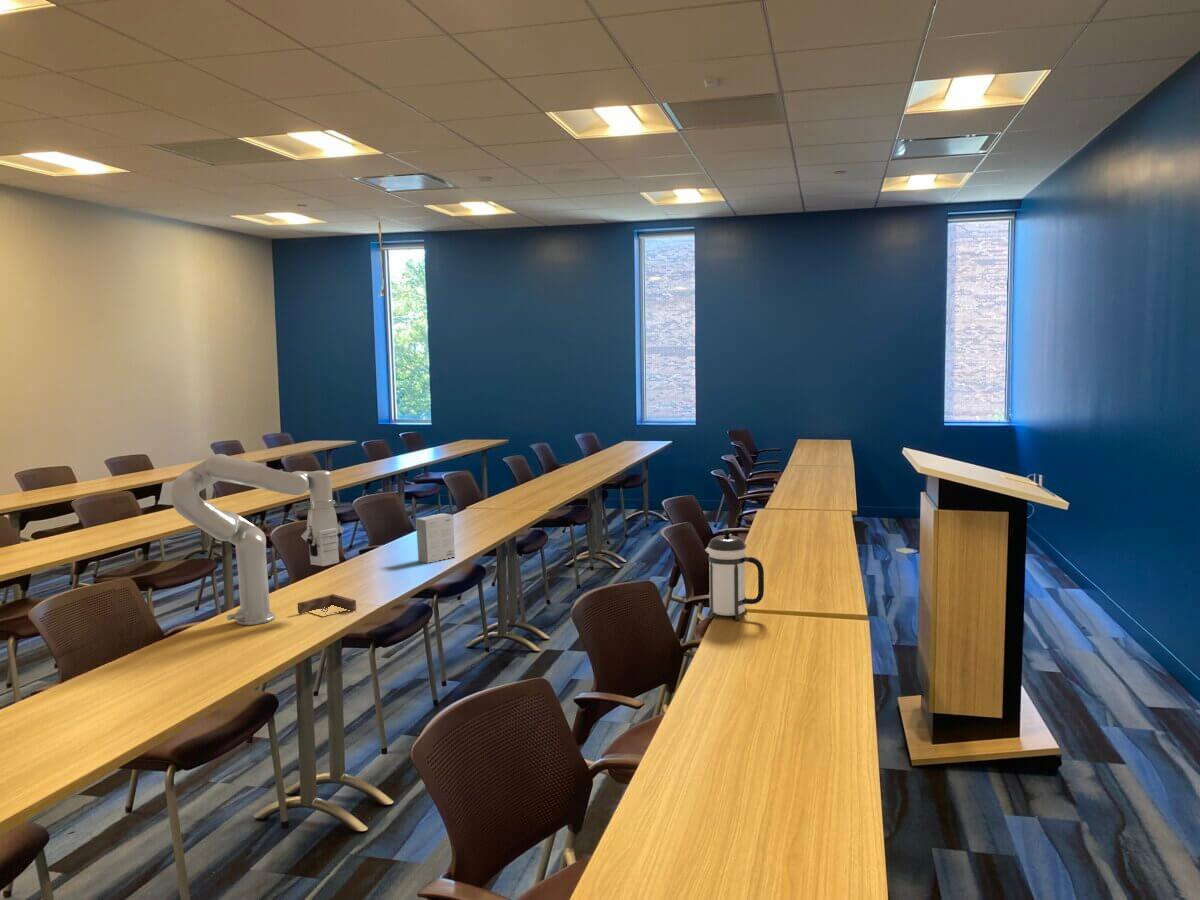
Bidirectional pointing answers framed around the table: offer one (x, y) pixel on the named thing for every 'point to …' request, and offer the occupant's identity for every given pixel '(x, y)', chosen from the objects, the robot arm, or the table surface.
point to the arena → (326, 603)
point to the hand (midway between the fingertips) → (324, 553)
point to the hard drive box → (435, 537)
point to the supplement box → (326, 548)
